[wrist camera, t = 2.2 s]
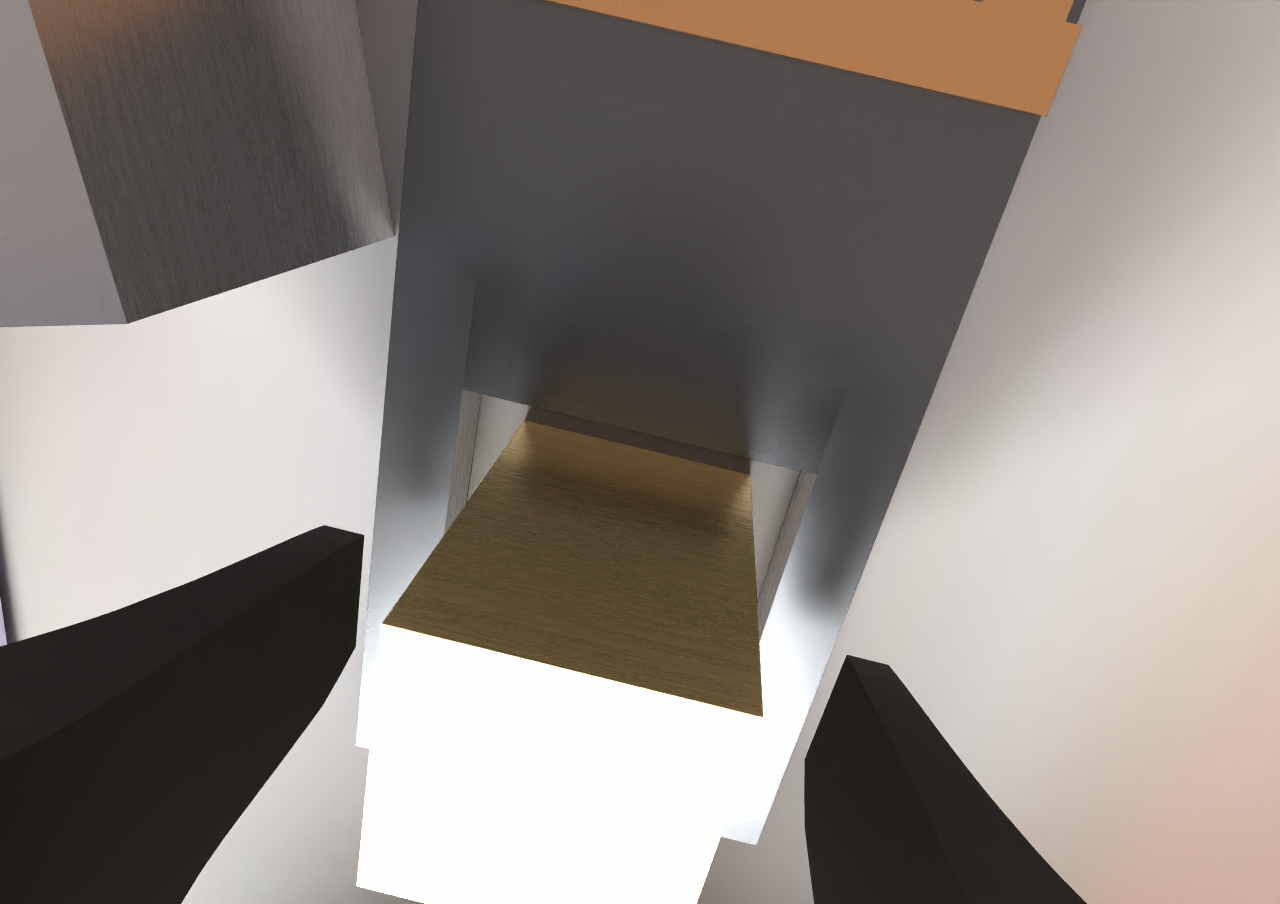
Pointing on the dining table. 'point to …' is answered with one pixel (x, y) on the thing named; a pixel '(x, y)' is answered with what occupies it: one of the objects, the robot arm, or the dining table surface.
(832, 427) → the grey slotted plate
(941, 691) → the dining table surface
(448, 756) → the tan square block
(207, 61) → the grey metallic block
